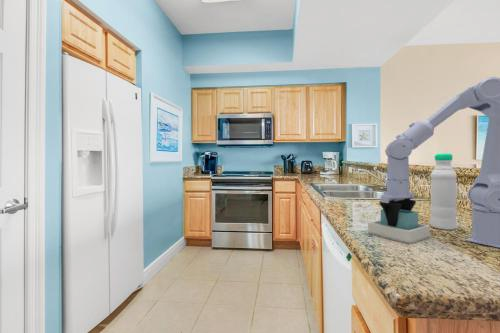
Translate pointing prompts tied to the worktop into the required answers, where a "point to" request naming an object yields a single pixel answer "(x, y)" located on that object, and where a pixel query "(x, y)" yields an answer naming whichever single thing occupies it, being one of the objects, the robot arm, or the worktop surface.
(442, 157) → the water bottle
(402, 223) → the teal crate
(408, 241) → the white crate
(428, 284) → the worktop surface
